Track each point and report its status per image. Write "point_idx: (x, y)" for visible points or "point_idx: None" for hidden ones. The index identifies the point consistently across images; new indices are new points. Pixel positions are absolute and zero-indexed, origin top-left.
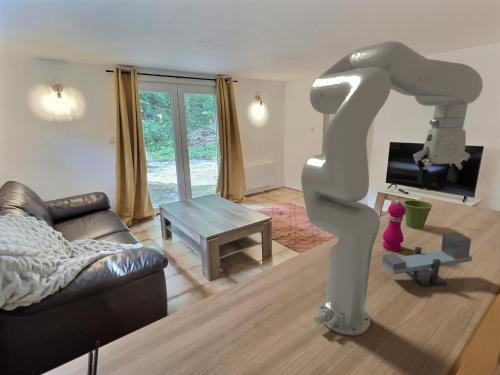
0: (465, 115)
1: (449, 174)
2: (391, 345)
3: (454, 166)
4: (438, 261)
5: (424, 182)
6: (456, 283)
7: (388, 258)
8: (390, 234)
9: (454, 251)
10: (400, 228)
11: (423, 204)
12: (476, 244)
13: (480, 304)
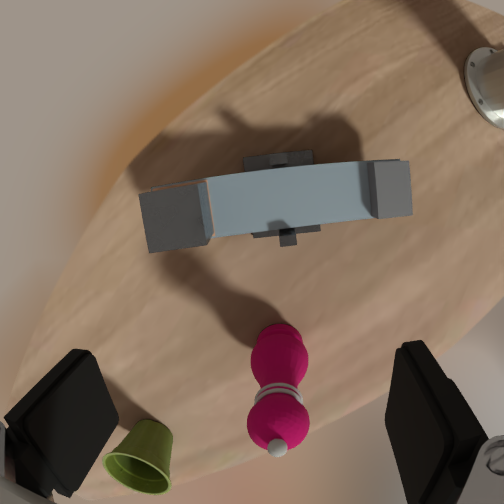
0: None
1: (90, 440)
2: (444, 22)
3: (27, 478)
4: (276, 153)
5: (418, 343)
6: (213, 165)
7: (407, 192)
8: (299, 357)
9: (203, 184)
10: (267, 370)
11: (118, 473)
12: (64, 336)
13: (216, 89)
